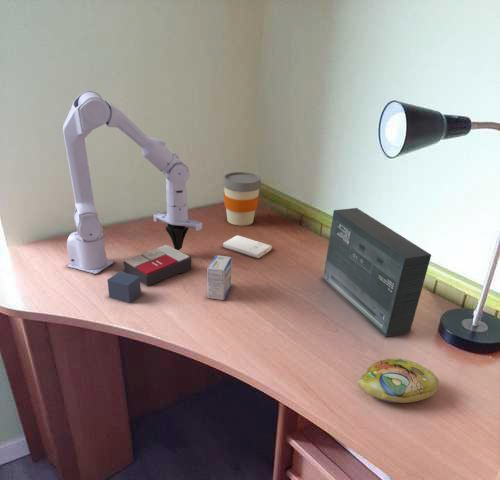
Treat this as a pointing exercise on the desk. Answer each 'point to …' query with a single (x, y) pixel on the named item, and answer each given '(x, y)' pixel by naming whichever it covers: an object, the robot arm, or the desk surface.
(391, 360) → the cell model
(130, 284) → the block
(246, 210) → the reusable coffee cup
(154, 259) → the calculator
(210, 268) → the medicine box
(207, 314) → the desk surface
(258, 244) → the hard drive
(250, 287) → the desk surface
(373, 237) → the cassette player
